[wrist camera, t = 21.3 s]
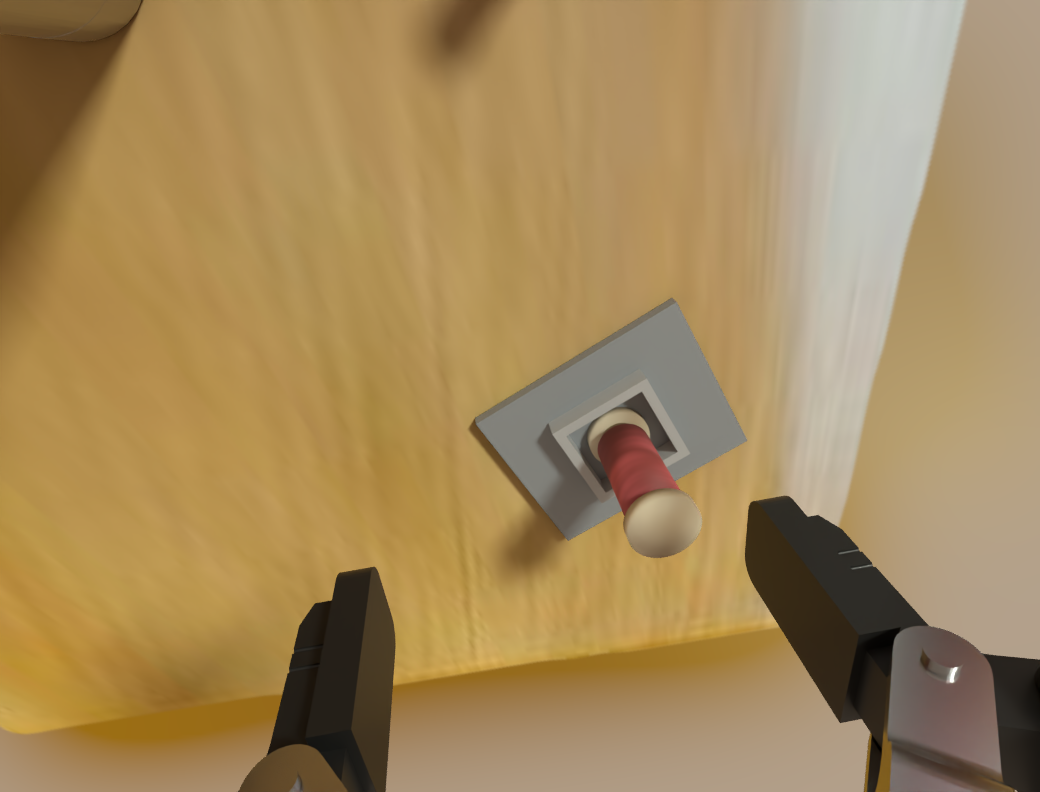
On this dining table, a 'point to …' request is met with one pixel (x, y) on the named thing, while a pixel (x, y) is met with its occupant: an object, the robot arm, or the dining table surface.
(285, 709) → the robot arm
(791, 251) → the dining table surface
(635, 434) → the bobbin
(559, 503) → the board
